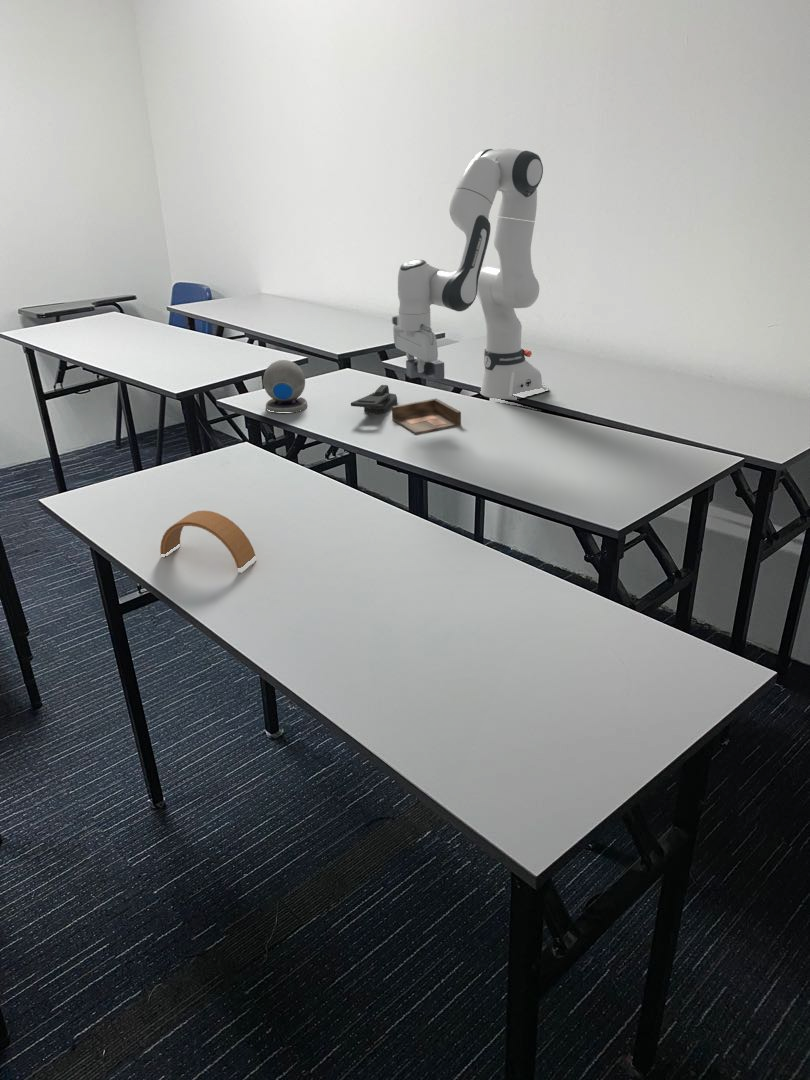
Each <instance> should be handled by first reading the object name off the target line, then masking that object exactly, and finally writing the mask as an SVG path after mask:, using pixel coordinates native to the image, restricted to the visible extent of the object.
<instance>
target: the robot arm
mask: <svg viewBox="0 0 810 1080" xmlns="http://www.w3.org/2000/svg"><path fill="white" fill-rule="evenodd" d="M543 173H544V167H543V163H542V160H541V157H540V156H539V155H538V154H537V153H535V152H533V151H530V150H521V149H516V148H505V149H504V148H503V149H502V148H500V149H499V148H498V149H492V148H488V149H487V148H486V149H483V150H481V151H479V152H478V153H477V154H476V155H475V156H474V157H473V158H472V159H471V160H470V162H469V163H468V165H467V166H466V167H465V170H464V171H463V173H462V174H461V175H462V176H460V179H459V181H458V183H457V185H456V188H455V190H454V192H453V195H452V197H451V200H450V205H449V209H448V210H449V216H450V219H451V221H452V222H453V224H454V225H455V227H456V228H458V229H459V230H460V231H462V232H463V233H464V235H465V238H466V240H465V241H466V242H465V246H464V249H463V253H462V256H461V261H460V264H459V267H458V268H457V269H456V270H455V271H450V270H446V269H442V268H437V267H435V266H432V265H430V264H428V263H427V261H426V260H424V259H418V258H417V259H412V260H408V261H405V262H403V263H402V264H401V265H400V266H399V270H398V275H397V296H398V300H399V308H398V314H396V315H394V316H392V317H391V324H392V325H393V328H392V329H393V332H392V333H393V343H394V345H395V348H396V349H398V350H400V351H402V352H405V357H406V360H412V359H417V361H418V365H417V366H416V371H417V372H419V373H422V372H424V365H425V362H432V361H436V360H437V359H438V357H439V352H438V351H439V350H438V341H437V336H436V334H435V333H434V332H433V330H432V326H431V325H432V324H431V321H432V320H431V319H432V317H431V305H434V306H438V307H444V308H448V309H449V310H453V311H455V312H459V313H460V312H464V311H466V310H467V309H469V308H470V307H471V306H473V305H472V304H473V303H474V302H475V300H476V298H478V299H479V302H480V306H481V310H482V313H483V317H484V318H483V319H484V323H485V349H484V353H483V355H484V357H483V363H484V373H483V379H482V385H481V388H480V390H481V391H479V393H480V395H482V396H483V397H485V398H490V399H497V400H498V399H499V400H510V401H518V400H517V397H516V396H515V397H514V396H512V395H513V394H517V393H520V392H525V391H530V390H534V389H540V388H543V389H544V390H546V389H550V388H549V386H548V385H547V384H546V383H543V379H542V373H541V371H540V370H539V369H538V368H537V367H535V366H534V365H533V364H532V363H530V362H529V361H528V360H526V357H527V358H530V357H531V356H532V354H533V353H532V351H531V350H529V349H523V348H522V333H523V332H522V327H523V326H522V322H521V321H520V319H519V318H518V316H517V314H516V311H515V309H525V308H530V307H531V306H533V304H535V303H536V301H537V300H538V298H539V295H540V283H539V280H538V279H537V277H536V276H535V273H534V270H533V264H532V254H531V253H532V241H533V233H534V228H535V221H536V217H537V216H536V215H537V205H538V187H539V185H540V184H541V181H542V178H543V175H544V174H543ZM497 192H501V195H502V197H501V201H500V204H499V205H500V206H499V209H498V215H497V222H496V227H495V232H494V239H493V246H494V248H495V249H496V251H497V253H498V257H499V258H498V259H499V265H495V264H494V265H493V264H492V265H485V266H483V263H484V260H485V255H486V251H487V248H488V244H489V242H490V235H491V222H490V220H489V219H490V218H489V217H490V212H491V209H492V206H493V203H494V201H495V198H496V195H497ZM543 386H546V387H543Z"/></svg>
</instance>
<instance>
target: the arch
mask: <svg viewBox="0 0 810 1080" xmlns="http://www.w3.org/2000/svg"><path fill="white" fill-rule="evenodd" d="M184 527H194V528H195V527H197V528H199V529H202V530H204V531H207V532H208V533H211V535H213V536H214V537H216V538H217V539H218V540H219V541H221V543H222V544H223V545H224V546H225V547H226V548H227V550H228V551H229V553H230V555H231V556H232V558H233V560H234V563H235V565H236V569H237V568H241V567H243V566H244V565H245V564H246V563H247V562H248V561H250V560H251V559H252V558H253V557H254V556H256V553H255V550H254V547H253V544H252V543H251V541H250V539H249V538H248V537H247V534H245V532H244V531H243V530H242V529H241V528H240V527H239V525H237V524H236V523H235V522H233V520H231V519H229V518H228V517H227V516H224V515H222V514H220V513H219V512H214V511H210V510H196V511H192V512H191V513H189V514H188V515H186V516H184V517H183V518H181V519H180V520H178V521H177V522H176V523H174V524H172V525H171V526H169V528H167V529H166V530H165V532H164V534H163V535H162V538H161V541H160V551H159V552H160V555H161V554H166V553H167V552H169V551H170V550H171V549H173V548H174V547H176V546H177V545H178V544H180V545H181V534H182V532H183V529H184Z"/></svg>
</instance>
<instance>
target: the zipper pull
mask: <svg viewBox="0 0 810 1080" xmlns="http://www.w3.org/2000/svg"><path fill="white" fill-rule="evenodd" d="M397 404H398V397H397V394H396V393H391V392H390V390H389V386H388V385H387V384H381V385H380V386H379V387H378V388H377V389H376V390H375V391H374V392H372V393H370V394H369V395H366V396H364V397H361V398H359V399H357V400H355V401H352V402H350V407H354V408H355V407H359V408H363V411H364V412H363V413H365V414H369V413H370V414H369V415H382V414H386V413H387V412H388V411H390V410H392V406H397Z"/></svg>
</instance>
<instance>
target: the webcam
mask: <svg viewBox="0 0 810 1080" xmlns="http://www.w3.org/2000/svg"><path fill="white" fill-rule="evenodd" d="M305 377H306V376H305V374H304V372H303V369H302V368H301V367H300V366H299V365H298V363H295V362H294V361H291V360H288V359H280V360H276V361H274V362H272V363H271V364H270V365H269V366H267V367H266V369H265V371H264V374H263V378H262V384H263V388H264V390H265V392H266V394H267V395H268V396H269V397H270V398H271V399H269V400H268V401H267V402H266V404H265V409H268V410H270V411H274V412H296V411H300V410H302V411H304V410H306V409H307V408H308V401H307V399H305V398H304V397H301V395H302V394H303V392H304V390H305V386H306V379H305ZM306 407H307V408H306ZM305 408H306V409H305ZM303 409H304V410H303ZM300 412H301V411H300ZM296 413H297V412H296Z"/></svg>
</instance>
